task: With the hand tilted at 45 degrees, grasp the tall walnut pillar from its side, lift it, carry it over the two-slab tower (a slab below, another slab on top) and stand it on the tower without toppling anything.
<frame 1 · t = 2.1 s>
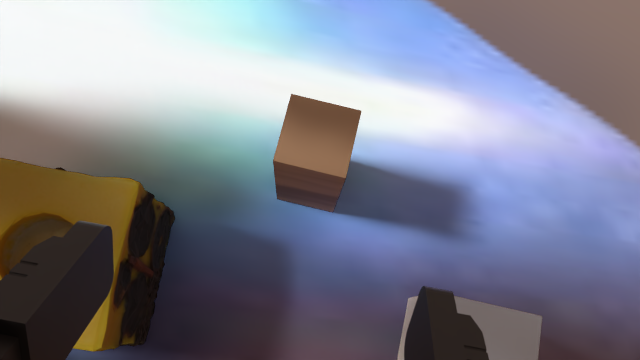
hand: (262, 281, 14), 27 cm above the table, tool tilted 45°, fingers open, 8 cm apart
tower base: (440, 347, 39), on the table, touching tower top
tower top: (461, 350, 34), point 5 cm above the table, touching tower base
yellow patterned cube: (97, 266, 40), on the table
pillar: (311, 178, 42), on the table
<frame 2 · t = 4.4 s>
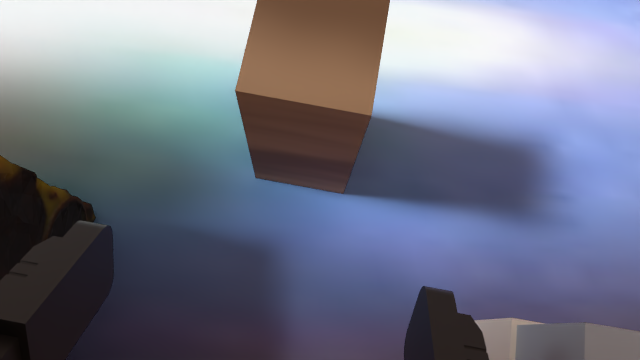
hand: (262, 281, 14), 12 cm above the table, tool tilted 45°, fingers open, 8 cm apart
pillar: (307, 144, 27), on the table
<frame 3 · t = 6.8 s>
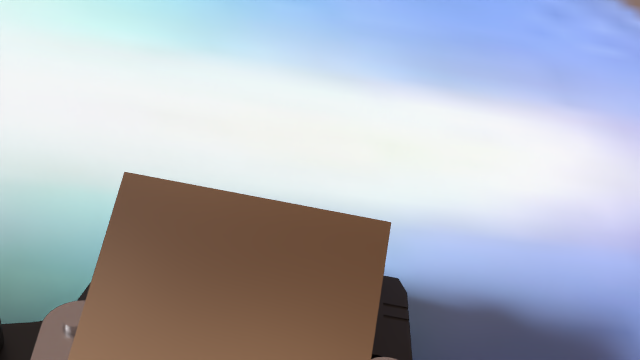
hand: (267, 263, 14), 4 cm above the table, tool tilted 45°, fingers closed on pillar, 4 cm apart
pillar: (262, 335, 18), on the table, touching gripper
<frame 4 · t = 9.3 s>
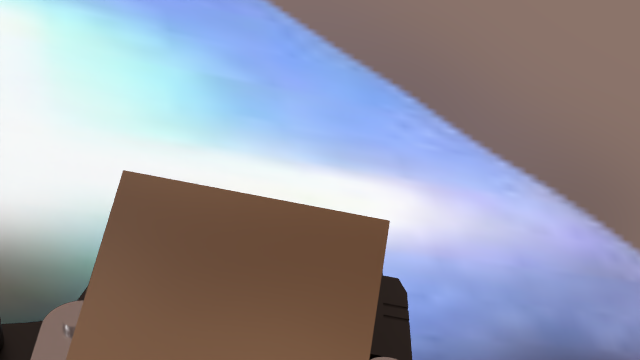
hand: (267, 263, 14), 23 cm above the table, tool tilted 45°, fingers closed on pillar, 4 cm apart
pillar: (261, 334, 18), point 18 cm above the table, touching gripper
when the fingers open (15 cm above the table, at t = 11.7 s): pillar moves 1 cm, resting on tower top.
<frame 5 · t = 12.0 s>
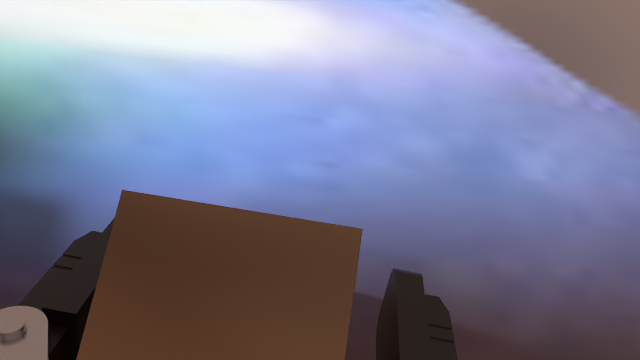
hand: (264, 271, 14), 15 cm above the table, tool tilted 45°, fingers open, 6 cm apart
pillar: (257, 334, 19), point 10 cm above the table, touching tower top
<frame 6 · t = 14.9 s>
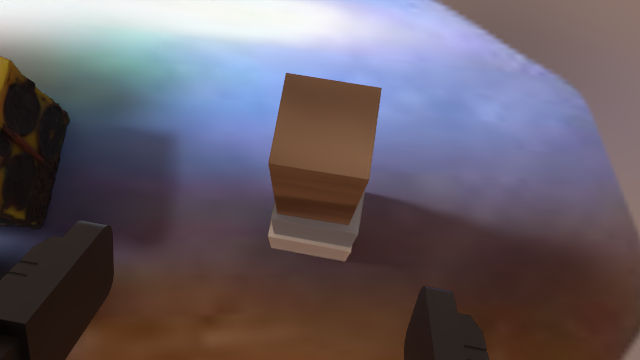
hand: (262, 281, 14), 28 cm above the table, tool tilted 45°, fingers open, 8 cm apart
tower base: (314, 218, 43), on the table, touching tower top
tower top: (319, 203, 38), point 5 cm above the table, touching pillar, tower base
pillar: (318, 185, 34), point 10 cm above the table, touching tower top
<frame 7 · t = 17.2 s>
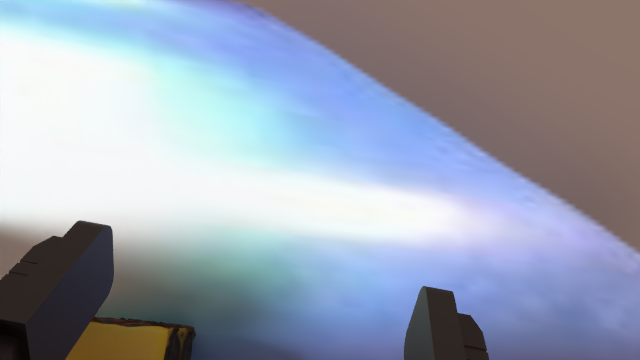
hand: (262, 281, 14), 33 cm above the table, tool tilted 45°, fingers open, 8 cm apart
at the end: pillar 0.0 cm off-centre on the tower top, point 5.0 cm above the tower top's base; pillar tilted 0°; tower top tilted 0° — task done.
